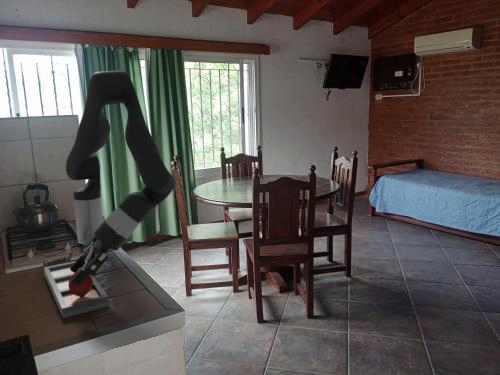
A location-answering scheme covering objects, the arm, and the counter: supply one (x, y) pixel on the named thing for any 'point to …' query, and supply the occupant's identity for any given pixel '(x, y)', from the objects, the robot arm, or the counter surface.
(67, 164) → the robot arm
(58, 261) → the phone
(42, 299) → the counter surface
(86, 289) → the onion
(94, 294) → the terracotta key
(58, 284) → the keypad
